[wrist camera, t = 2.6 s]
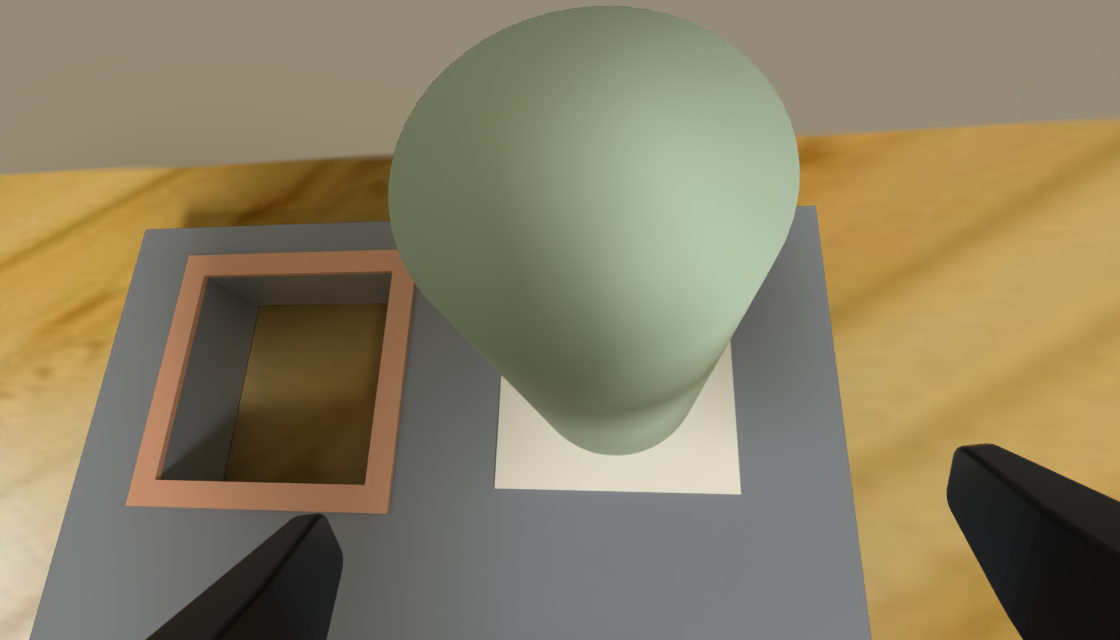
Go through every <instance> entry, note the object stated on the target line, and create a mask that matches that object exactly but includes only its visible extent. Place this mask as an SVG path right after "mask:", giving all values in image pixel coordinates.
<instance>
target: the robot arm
mask: <svg viewBox="0 0 1120 640" xmlns="http://www.w3.org/2000/svg"><path fill="white" fill-rule="evenodd" d="M947 501H948V505H949V507H950V510H951V512H952V514H953V515H954V517H955V519H956V521H957V523H958V525H959V527H960V529H961V530H962V532H963V534H964V536H965V538H966V540H967V542H968V543H969V545H970V547H971V549H972V551H973V553H974V555H975V557H976V558H977V560H978V562H979V564H980V566H981V568H982V570H983V571H984V573H985V575H986V577H987V579H988V581H989V583H990V585H991V586H992V588H993V590H994V592H995V594H996V596H997V598H998V599H999V601H1000V603H1001V605H1002V606H1003V608H1004V610H1005V612H1006V613H1007V615H1008V617H1009V619H1010V620H1011V622H1012V623H1013V625H1014V626H1015V628H1016V630H1017V631H1018V633H1019V634H1020V636H1021V637H1022V639H1023V640H1120V502H1119V501H1117V500H1115V499H1113V498H1110V497H1108V496H1106V495H1104V494H1102V493H1100V492H1097V491H1095V490H1093V489H1091V488H1089V487H1086V486H1084V485H1082V484H1080V483H1078V482H1076V481H1073V480H1071V479H1069V478H1067V477H1065V476H1062V475H1060V474H1058V473H1056V472H1054V471H1051V470H1049V469H1047V468H1045V467H1043V466H1041V465H1038V464H1036V463H1034V462H1032V461H1030V460H1027V459H1025V458H1023V457H1021V456H1019V455H1017V454H1014V453H1012V452H1010V451H1008V450H1006V449H1003V448H1001V447H999V446H996V445H994V444H987V443H985V444H975V445H965V446H961V447H958V448H957V449H956V451H955V452H954V455H953V459H952V465H951V470H950V475H949V480H948V485H947ZM342 570H343V553H342V549H341V547H340V545H339V543H338V540H337V538H336V536H335V534H334V532H333V529H332V527H331V525H330V523H329V521H328V519H327V517H326V516H325V515H323V514H320V513H315V514H306V515H299V516H295V517H293V518H292V519H291V520H289V521H288V522H287V523H286V524H284V525H283V526H282V527H281V528H280V529H278V530H277V531H276V532H275V533H274V534H272V535H271V536H270V537H269V538H267V539H266V540H265V541H264V542H263V543H261V544H260V545H259V546H258V547H257V548H255V549H254V550H253V551H252V552H251V553H249V554H248V555H247V556H246V557H245V558H243V559H242V560H241V561H240V562H238V563H237V564H236V565H235V566H234V567H232V568H231V569H230V570H229V571H228V572H226V573H225V574H224V575H223V576H222V577H220V578H219V579H218V580H217V581H215V582H214V583H213V584H212V585H211V586H209V587H208V588H207V589H206V590H205V591H203V592H202V593H201V594H200V595H199V596H197V597H196V598H195V599H194V600H192V601H191V602H190V603H189V604H188V605H186V606H185V607H184V608H183V609H182V610H180V611H179V612H178V613H177V614H176V615H174V616H173V617H172V618H171V619H169V620H168V621H167V622H166V623H165V624H163V625H162V626H161V627H160V628H159V629H157V630H156V631H155V632H154V633H153V634H151V635H150V636H149V637H148V638H146V639H145V640H327V637H328V632H329V628H330V623H331V619H332V614H333V610H334V605H335V601H336V597H337V592H338V588H339V583H340V579H341V574H342Z"/></svg>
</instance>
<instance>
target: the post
mask: <svg viewBox="0 0 1120 640" xmlns="http://www.w3.org/2000/svg"><path fill="white" fill-rule="evenodd" d="M799 175H800V165H799V157H798V149H797V142H796V139H795V135H794V132H793V128H792V125H791V122H790V119H789V117H788V115H787V112H786V110H785V108H784V106H783V104H782V102H781V100H780V98H779V96H778V95H777V93H776V92H775V90H774V89H773V87H772V86H771V84H770V83H769V81H768V80H767V78H766V77H765V76H764V75H763V74H762V73H761V72H760V71H759V69H758V68H757V67H756V66H755V65H754V64H753V63H752V62H751V61H750V60H749V59H748V58H747V57H746V56H744V55H743V54H742V53H741V52H740V51H739V50H738V49H736V48H735V47H734V46H733V45H731V44H729V43H728V42H727V41H725V40H723V39H722V38H720V37H719V36H717V35H716V34H714V33H712V32H710V31H708V30H706V29H704V28H702V27H700V26H698V25H696V24H694V23H692V22H689V21H686V20H683V19H681V18H678V17H675V16H672V15H669V14H665V13H660V12H655V11H651V10H647V9H640V8H632V7H623V6H593V7H581V8H572V9H567V10H562V11H556V12H551V13H547V14H544V15H541V16H537V17H534V18H530V19H527V20H525V21H522V22H520V23H517V24H515V25H512V26H510V27H508V28H505V29H503V30H502V31H500V32H498V33H496V34H494V35H492V36H490V37H488V38H486V39H485V40H483V41H482V42H480V43H479V44H477V45H476V46H474V47H473V48H471V49H470V50H468V51H467V52H465V53H464V54H463V55H462V56H460V57H459V58H458V59H457V60H456V61H454V62H453V63H452V64H451V65H450V66H449V67H447V68H446V69H445V70H444V72H443V73H442V74H441V75H440V76H439V77H438V78H437V79H436V80H435V81H434V82H433V83H432V84H431V85H430V87H429V88H428V89H427V91H426V92H425V93H424V94H423V96H422V97H421V98H420V100H419V101H418V103H417V104H416V106H415V108H414V109H413V111H412V113H411V115H410V116H409V118H408V120H407V121H406V123H405V126H404V128H403V130H402V133H401V135H400V137H399V140H398V142H397V145H396V149H395V153H394V156H393V160H392V163H391V170H390V177H389V184H388V210H389V216H390V223H391V229H392V234H393V237H394V240H395V243H396V246H397V249H398V253H399V255H400V257H401V259H402V261H403V263H404V265H405V267H406V269H407V271H408V273H409V275H410V277H411V278H412V280H413V281H414V283H415V284H416V285H417V287H418V288H419V290H420V291H421V293H422V294H423V295H424V296H425V298H426V299H427V300H428V301H429V302H430V303H431V304H432V305H433V306H434V307H435V308H436V309H437V310H438V311H439V312H440V313H441V314H442V315H443V316H444V317H445V318H446V320H447V321H448V322H449V323H450V324H451V325H452V326H453V327H454V328H455V329H456V330H457V331H458V332H459V333H460V334H461V335H462V336H463V337H464V338H465V339H466V340H467V341H468V342H469V343H470V344H471V345H472V346H473V347H474V348H475V349H476V350H477V351H478V352H479V353H480V354H481V355H482V356H483V357H484V358H485V359H486V360H487V361H488V362H489V363H490V364H491V365H492V366H493V367H494V368H495V369H496V370H497V371H498V372H499V373H500V374H501V375H502V376H503V377H504V378H505V379H506V380H507V381H508V382H509V383H510V384H511V385H512V386H513V387H514V388H515V390H516V391H517V392H518V393H519V394H520V395H521V396H522V397H523V398H524V399H525V400H526V401H527V402H528V403H529V404H530V405H531V406H532V407H533V408H534V409H535V410H536V411H537V412H538V413H539V414H540V415H541V416H542V417H543V418H544V419H545V420H546V421H547V422H548V423H549V424H550V425H551V426H552V427H553V428H554V429H555V430H556V431H557V432H558V433H559V434H560V435H561V436H563V437H564V438H565V439H566V440H567V441H569V442H571V443H572V444H574V445H576V446H577V447H580V448H582V449H584V450H587V451H590V452H593V453H597V454H602V455H609V456H622V455H630V454H635V453H639V452H642V451H645V450H647V449H650V448H652V447H654V446H656V445H658V444H659V443H661V442H663V441H664V440H665V439H667V438H668V437H669V436H671V435H672V434H673V433H674V432H675V431H676V430H677V429H678V428H679V427H680V425H681V424H682V422H683V421H684V420H685V418H686V417H687V415H688V413H689V412H690V410H691V408H692V406H693V404H694V403H695V401H696V399H697V397H698V396H699V394H700V392H701V390H702V389H703V387H704V385H705V383H706V382H707V380H708V378H709V376H710V374H711V373H712V371H713V369H714V367H715V366H716V364H717V362H718V360H719V359H720V357H721V355H722V353H723V352H724V350H725V348H726V346H727V345H728V343H729V341H730V339H731V337H732V336H733V334H734V332H735V330H736V329H737V327H738V325H739V323H740V322H741V320H742V318H743V316H744V315H745V313H746V311H747V309H748V307H749V306H750V304H751V302H752V300H753V299H754V297H755V295H756V293H757V292H758V290H759V288H760V286H761V285H762V283H763V281H764V279H765V278H766V276H767V274H768V272H769V270H770V269H771V267H772V265H773V263H774V261H775V260H776V258H777V256H778V254H779V252H780V250H781V248H782V247H783V245H784V243H785V241H786V238H787V235H788V233H789V230H790V227H791V224H792V221H793V219H794V215H795V210H796V205H797V199H798V194H799Z"/></svg>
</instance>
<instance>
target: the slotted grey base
mask: <svg viewBox="0 0 1120 640" xmlns="http://www.w3.org/2000/svg"><path fill="white" fill-rule="evenodd" d="M378 303H388V309H387V317H386V325H385V332H384V340H383V348H382V355H381V363H380V371H379V379H378V386H377V394H376V402H375V409H374V417H373V425H372V433H371V440H370V448H369V456H368V463H367V471H366V479H365V485H343V484H302V483H262V482H223V479H224V474H225V469H226V465H227V460H228V455H229V450H230V445H231V440H232V435H233V430H234V426H235V421H236V416H237V411H238V406H239V401H240V396H241V392H242V387H243V382H244V377H245V372H246V367H247V362H248V357H249V353H250V348H251V343H252V338H253V333H254V328H255V323H256V318H257V314H258V309H259V306H260V305H319V304H378ZM315 513H320V514H323V515H325V516H326V517H327V519H328V521H329V523H330V525H331V527H332V529H333V532H334V534H335V536H336V538H337V540H338V543H339V545H340V547H341V549H342V553H343V570H342V574H341V579H340V583H339V588H338V592H337V597H336V601H335V605H334V610H333V614H332V619H331V623H330V628H329V632H328V637H327V640H872V639H871V631H870V624H869V616H868V608H867V600H866V592H865V585H864V577H863V569H862V561H861V554H860V546H859V538H858V530H857V523H856V515H855V507H854V499H853V491H852V484H851V476H850V468H849V460H848V453H847V445H846V437H845V429H844V422H843V414H842V406H841V398H840V390H839V383H838V375H837V367H836V359H835V352H834V344H833V336H832V328H831V321H830V313H829V305H828V297H827V289H826V282H825V274H824V266H823V258H822V251H821V243H820V235H819V227H818V219H817V212H816V206H796V210H795V215H794V219H793V221H792V224H791V227H790V230H789V233H788V235H787V238H786V241H785V243H784V245H783V247H782V248H781V250H780V252H779V254H778V256H777V258H776V260H775V261H774V263H773V265H772V267H771V269H770V270H769V272H768V274H767V276H766V278H765V279H764V281H763V283H762V285H761V286H760V288H759V290H758V292H757V293H756V295H755V297H754V299H753V300H752V302H751V304H750V306H749V307H748V309H747V311H746V313H745V315H744V316H743V318H742V320H741V322H740V323H739V325H738V327H737V329H736V330H735V332H734V334H733V336H732V337H731V339H730V341H729V343H728V345H727V346H726V348H725V350H724V352H723V353H722V355H721V357H720V359H719V360H718V362H717V364H716V366H715V367H714V369H713V371H712V373H711V374H710V376H709V378H708V380H707V382H706V383H705V385H704V387H703V389H702V390H701V392H700V394H699V396H698V397H697V399H696V401H695V403H694V404H693V406H692V408H691V410H690V412H689V413H688V415H687V417H686V418H685V420H684V421H683V422H682V424H681V425H680V427H679V428H678V429H677V430H676V431H675V432H674V433H673V434H672V435H671V436H669V437H668V438H667V439H665V440H664V441H663V442H661V443H659V444H658V445H656V446H654V447H652V448H650V449H647V450H645V451H642V452H639V453H635V454H630V455H622V456H609V455H602V454H597V453H593V452H590V451H587V450H584V449H582V448H580V447H577V446H576V445H574V444H572V443H571V442H569V441H567V440H566V439H565V438H564V437H563V436H561V435H560V434H559V433H558V432H557V431H556V430H555V429H554V428H553V427H552V426H551V425H550V424H549V423H548V422H547V421H546V420H545V419H544V418H543V417H542V416H541V415H540V414H539V413H538V412H537V411H536V410H535V409H534V408H533V407H532V406H531V405H530V404H529V403H528V402H527V401H526V400H525V399H524V398H523V397H522V396H521V395H520V394H519V393H518V392H517V391H516V390H515V388H514V387H513V386H512V385H511V384H510V383H509V382H508V381H507V380H506V379H505V378H504V377H503V376H502V375H501V374H500V373H499V372H498V371H497V370H496V369H495V368H494V367H493V366H492V365H491V364H490V363H489V362H488V361H487V360H486V359H485V358H484V357H483V356H482V355H481V354H480V353H479V352H478V351H477V350H476V349H475V348H474V347H473V346H472V345H471V344H470V343H469V342H468V341H467V340H466V339H465V338H464V337H463V336H462V335H461V334H460V333H459V332H458V331H457V330H456V329H455V328H454V327H453V326H452V325H451V324H450V323H449V322H448V321H447V320H446V318H445V317H444V316H443V315H442V314H441V313H440V312H439V311H438V310H437V309H436V308H435V307H434V306H433V305H432V304H431V303H430V302H429V301H428V300H427V299H426V298H425V296H424V295H423V294H422V293H421V291H420V290H419V288H418V287H417V285H416V284H415V283H414V281H413V280H412V278H411V277H410V275H409V273H408V271H407V269H406V267H405V265H404V263H403V261H402V259H401V257H400V255H399V253H398V249H397V246H396V243H395V240H394V237H393V234H392V229H391V223H390V221H372V222H344V223H316V224H288V225H260V226H232V227H204V228H176V229H148V230H146V231H145V234H144V238H143V241H142V245H141V248H140V252H139V255H138V259H137V262H136V266H135V269H134V273H133V276H132V280H131V284H130V287H129V291H128V294H127V298H126V301H125V305H124V308H123V312H122V315H121V319H120V322H119V326H118V329H117V333H116V336H115V340H114V343H113V347H112V350H111V354H110V357H109V361H108V364H107V368H106V371H105V375H104V379H103V382H102V386H101V389H100V393H99V396H98V400H97V403H96V407H95V410H94V414H93V417H92V421H91V424H90V428H89V431H88V435H87V438H86V442H85V445H84V449H83V452H82V456H81V459H80V463H79V466H78V470H77V473H76V477H75V481H74V484H73V488H72V491H71V495H70V498H69V502H68V505H67V509H66V512H65V516H64V519H63V523H62V526H61V530H60V533H59V537H58V540H57V544H56V547H55V551H54V554H53V558H52V561H51V565H50V568H49V572H48V576H47V579H46V583H45V586H44V590H43V593H42V597H41V600H40V604H39V607H38V611H37V614H36V618H35V621H34V625H33V628H32V632H31V635H30V639H29V640H145V639H146V638H148V637H149V636H150V635H151V634H153V633H154V632H155V631H156V630H157V629H159V628H160V627H161V626H162V625H163V624H165V623H166V622H167V621H168V620H169V619H171V618H172V617H173V616H174V615H176V614H177V613H178V612H179V611H180V610H182V609H183V608H184V607H185V606H186V605H188V604H189V603H190V602H191V601H192V600H194V599H195V598H196V597H197V596H199V595H200V594H201V593H202V592H203V591H205V590H206V589H207V588H208V587H209V586H211V585H212V584H213V583H214V582H215V581H217V580H218V579H219V578H220V577H222V576H223V575H224V574H225V573H226V572H228V571H229V570H230V569H231V568H232V567H234V566H235V565H236V564H237V563H238V562H240V561H241V560H242V559H243V558H245V557H246V556H247V555H248V554H249V553H251V552H252V551H253V550H254V549H255V548H257V547H258V546H259V545H260V544H261V543H263V542H264V541H265V540H266V539H267V538H269V537H270V536H271V535H272V534H274V533H275V532H276V531H277V530H278V529H280V528H281V527H282V526H283V525H284V524H286V523H287V522H288V521H289V520H291V519H292V518H293V517H295V516H299V515H306V514H315Z"/></svg>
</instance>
